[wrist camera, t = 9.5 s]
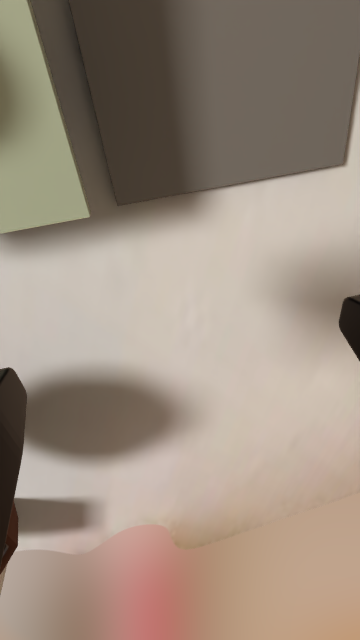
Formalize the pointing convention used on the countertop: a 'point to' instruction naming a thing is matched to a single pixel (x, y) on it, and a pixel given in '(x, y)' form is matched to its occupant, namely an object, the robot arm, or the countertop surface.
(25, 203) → the cover
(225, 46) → the rubber mat
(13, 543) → the ice cream bowl
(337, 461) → the countertop surface
